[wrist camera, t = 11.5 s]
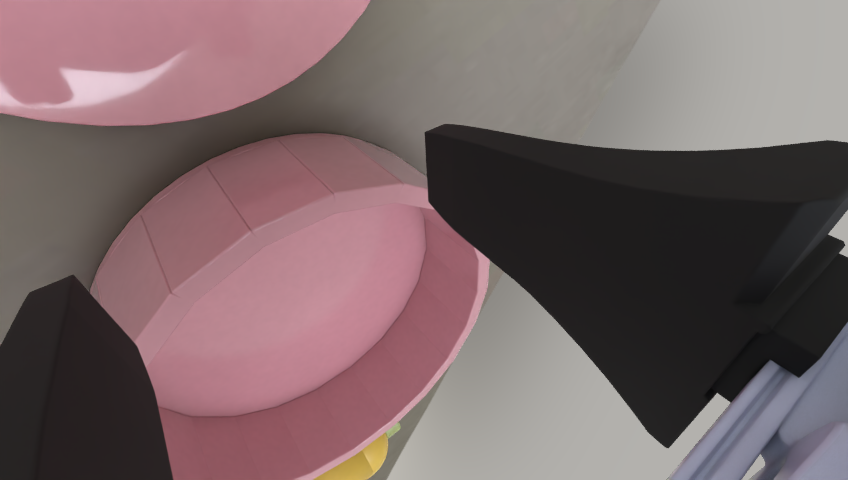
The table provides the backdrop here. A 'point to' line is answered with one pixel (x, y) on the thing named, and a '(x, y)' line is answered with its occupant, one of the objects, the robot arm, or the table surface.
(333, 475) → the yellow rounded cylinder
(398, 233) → the pot
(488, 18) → the table surface
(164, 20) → the lid
